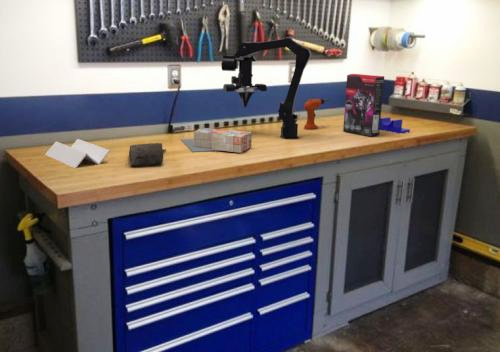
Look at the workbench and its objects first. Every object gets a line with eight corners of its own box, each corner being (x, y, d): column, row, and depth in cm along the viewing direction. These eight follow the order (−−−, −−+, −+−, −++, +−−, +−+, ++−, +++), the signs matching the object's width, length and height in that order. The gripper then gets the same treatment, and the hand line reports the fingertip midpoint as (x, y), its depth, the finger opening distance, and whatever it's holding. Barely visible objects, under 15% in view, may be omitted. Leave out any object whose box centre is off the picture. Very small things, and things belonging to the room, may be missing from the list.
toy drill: (333, 123, 261) (333, 93, 256) (309, 132, 249) (308, 101, 244) (325, 122, 264) (325, 93, 259) (301, 130, 252) (300, 100, 247)
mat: (213, 138, 223) (213, 138, 223) (228, 150, 201) (228, 149, 201) (180, 140, 219) (180, 139, 219) (192, 152, 197) (192, 151, 197)
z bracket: (88, 178, 174) (74, 168, 170) (57, 164, 192) (44, 154, 188) (110, 150, 178) (97, 139, 174) (78, 139, 195) (66, 128, 191)
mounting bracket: (409, 133, 250) (411, 120, 248) (400, 134, 245) (402, 122, 244) (379, 127, 263) (380, 115, 262) (370, 128, 259) (371, 116, 257)
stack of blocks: (203, 142, 214) (189, 147, 203) (203, 127, 212) (189, 132, 201) (251, 147, 207) (240, 153, 196) (252, 131, 205) (241, 136, 194)
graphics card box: (341, 131, 247) (345, 73, 240) (350, 130, 251) (355, 73, 244) (371, 137, 234) (376, 76, 227) (380, 135, 239) (385, 76, 232)
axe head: (173, 141, 174) (128, 146, 170) (175, 163, 175) (131, 169, 171) (165, 137, 199) (125, 141, 195) (167, 157, 200) (128, 161, 197)
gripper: (259, 70, 236) (258, 104, 240) (220, 70, 230) (219, 105, 235) (267, 72, 226) (266, 107, 230) (226, 72, 220) (226, 108, 224)
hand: (244, 107), depth 230 cm, fingers closed
